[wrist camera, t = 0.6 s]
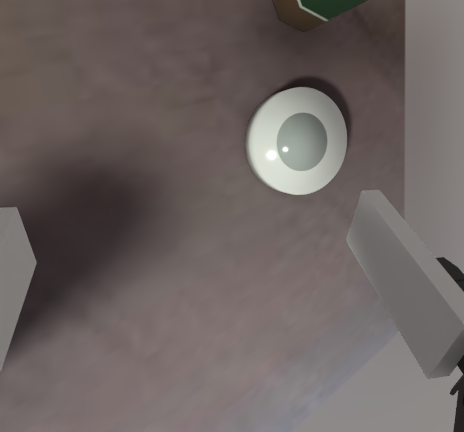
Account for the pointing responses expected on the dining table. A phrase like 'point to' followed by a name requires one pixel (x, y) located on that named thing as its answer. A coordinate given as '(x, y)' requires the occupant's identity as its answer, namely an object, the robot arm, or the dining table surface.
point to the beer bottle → (311, 11)
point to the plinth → (296, 140)
